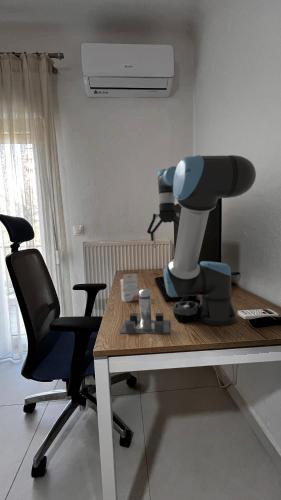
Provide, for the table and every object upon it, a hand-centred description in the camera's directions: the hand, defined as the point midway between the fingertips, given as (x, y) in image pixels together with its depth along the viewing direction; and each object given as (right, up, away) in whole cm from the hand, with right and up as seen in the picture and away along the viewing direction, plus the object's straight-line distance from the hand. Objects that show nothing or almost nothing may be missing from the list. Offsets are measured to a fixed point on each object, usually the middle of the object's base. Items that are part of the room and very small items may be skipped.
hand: (168, 247), depth 118 cm
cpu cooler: (+6, -30, -18) cm, 35 cm away
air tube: (-12, -31, -25) cm, 41 cm away
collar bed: (-12, -31, -25) cm, 41 cm away
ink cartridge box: (-19, -29, +14) cm, 38 cm away
